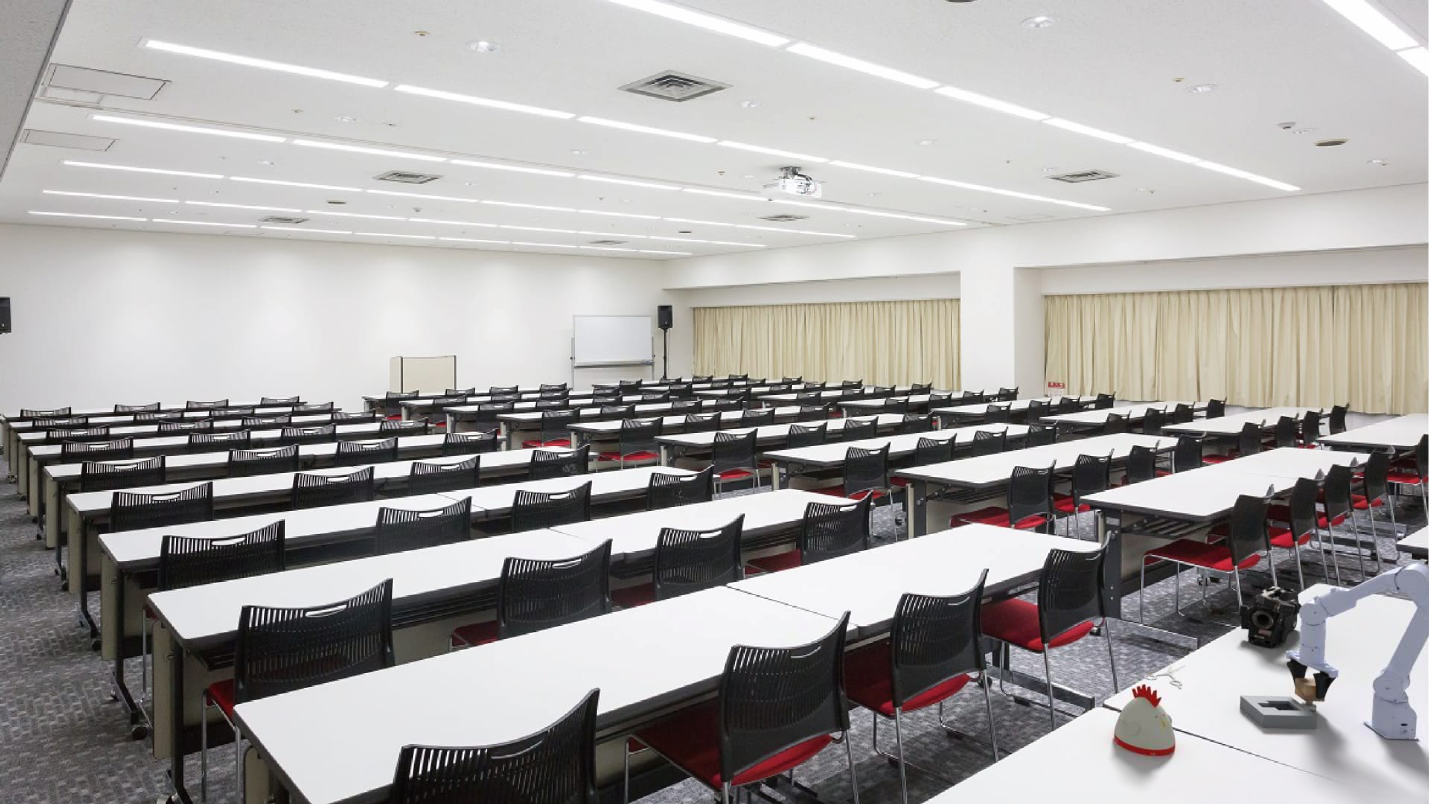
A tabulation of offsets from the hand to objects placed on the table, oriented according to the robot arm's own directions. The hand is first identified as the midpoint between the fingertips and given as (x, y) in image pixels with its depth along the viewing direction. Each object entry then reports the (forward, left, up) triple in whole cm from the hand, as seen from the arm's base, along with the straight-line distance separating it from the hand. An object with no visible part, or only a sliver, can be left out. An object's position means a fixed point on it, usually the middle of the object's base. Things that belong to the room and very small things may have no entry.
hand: (1309, 693), depth 245 cm
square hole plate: (-6, +11, -4) cm, 14 cm away
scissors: (+23, +27, -5) cm, 36 cm away
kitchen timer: (-22, +52, -5) cm, 57 cm away
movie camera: (+55, -20, -5) cm, 59 cm away
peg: (0, 0, -4) cm, 4 cm away
